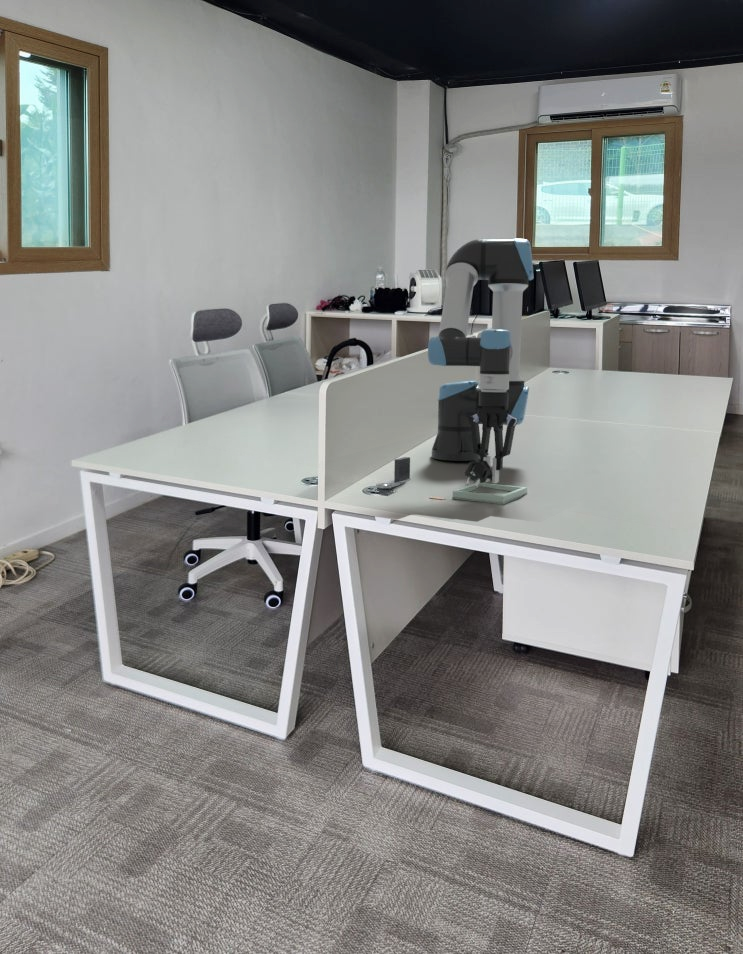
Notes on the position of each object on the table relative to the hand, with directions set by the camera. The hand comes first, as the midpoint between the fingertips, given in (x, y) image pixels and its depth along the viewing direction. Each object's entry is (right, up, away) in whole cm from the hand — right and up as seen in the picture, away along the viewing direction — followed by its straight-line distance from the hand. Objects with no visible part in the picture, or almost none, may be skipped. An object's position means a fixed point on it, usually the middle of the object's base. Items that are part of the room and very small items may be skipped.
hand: (490, 481), depth 223 cm
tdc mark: (-14, -4, -3) cm, 15 cm away
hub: (-28, -3, +5) cm, 28 cm away
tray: (0, -4, +1) cm, 4 cm away
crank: (-25, -1, +10) cm, 27 cm away
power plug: (0, -3, 0) cm, 3 cm away
